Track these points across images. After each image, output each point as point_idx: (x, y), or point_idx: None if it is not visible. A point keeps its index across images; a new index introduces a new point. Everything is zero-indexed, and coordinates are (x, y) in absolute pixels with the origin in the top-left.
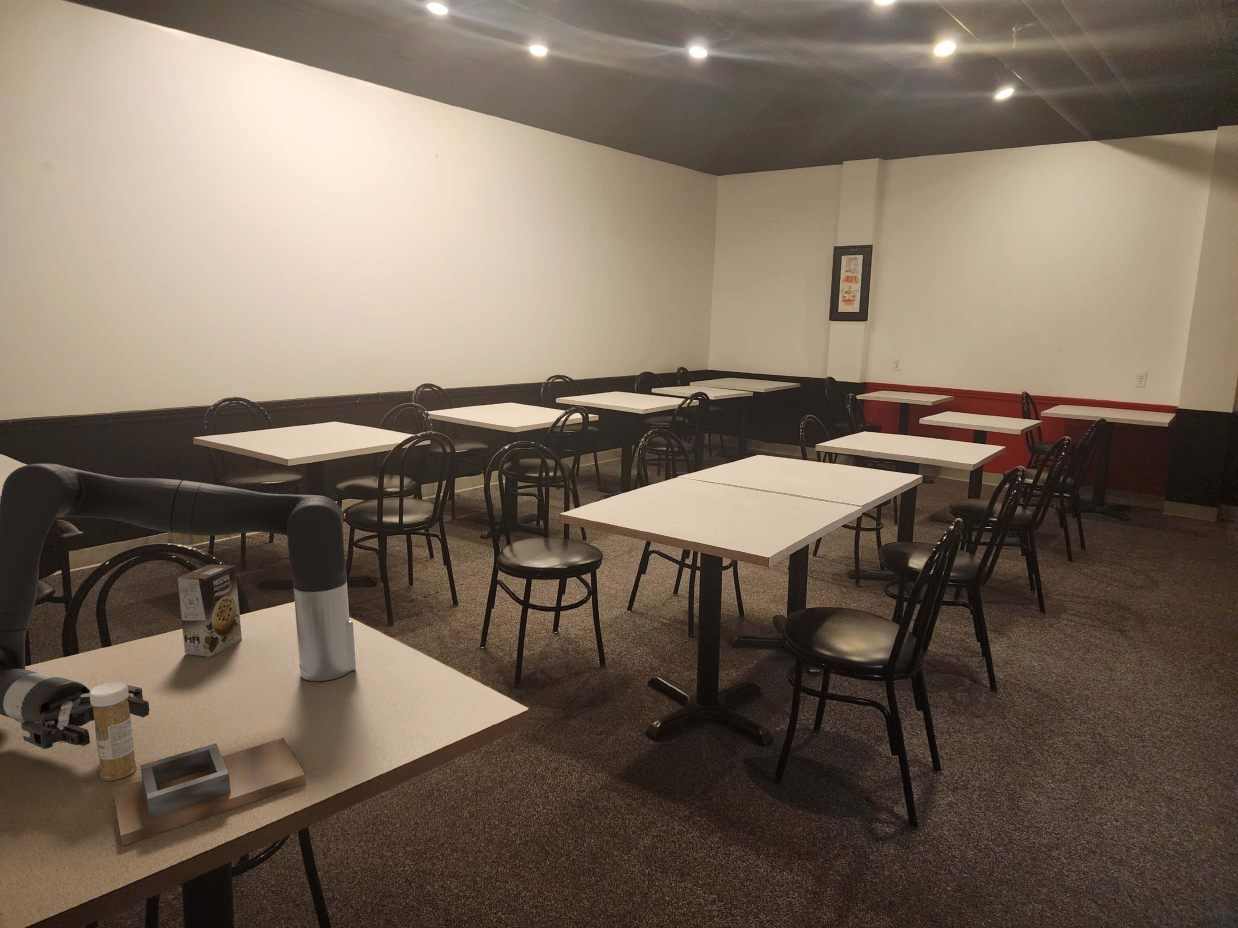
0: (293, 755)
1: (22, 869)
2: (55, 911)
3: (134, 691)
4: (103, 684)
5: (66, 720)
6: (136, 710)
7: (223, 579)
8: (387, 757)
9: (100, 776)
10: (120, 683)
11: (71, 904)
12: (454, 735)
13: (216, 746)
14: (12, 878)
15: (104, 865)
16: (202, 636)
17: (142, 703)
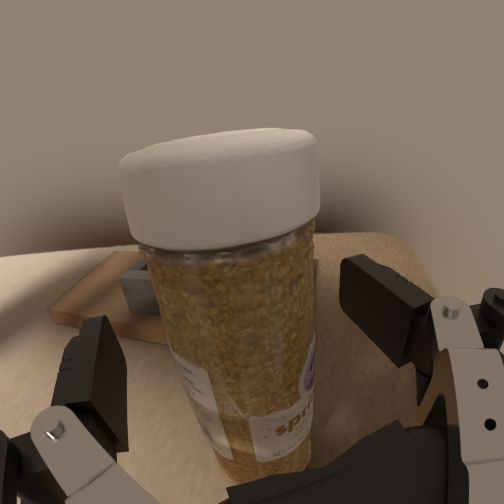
0: (84, 276)
1: (418, 278)
2: (371, 233)
3: (7, 446)
4: (215, 139)
5: (447, 342)
6: (117, 379)
7: None
8: (60, 260)
9: (311, 449)
10: (153, 145)
11: (359, 234)
12: (24, 258)
13: (127, 271)
14: (423, 271)
15: (332, 253)
16: None
17: (99, 317)
